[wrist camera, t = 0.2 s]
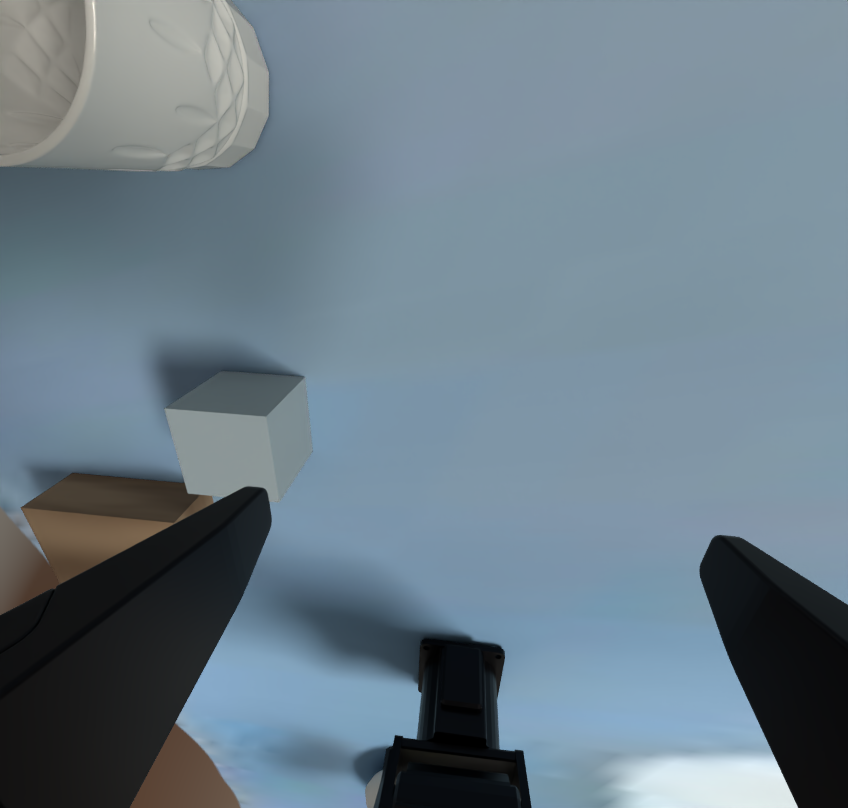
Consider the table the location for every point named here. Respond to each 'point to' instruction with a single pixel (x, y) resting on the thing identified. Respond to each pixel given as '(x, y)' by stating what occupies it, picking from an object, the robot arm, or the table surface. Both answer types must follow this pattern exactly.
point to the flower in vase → (373, 789)
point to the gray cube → (242, 433)
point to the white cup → (129, 84)
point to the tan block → (103, 517)
